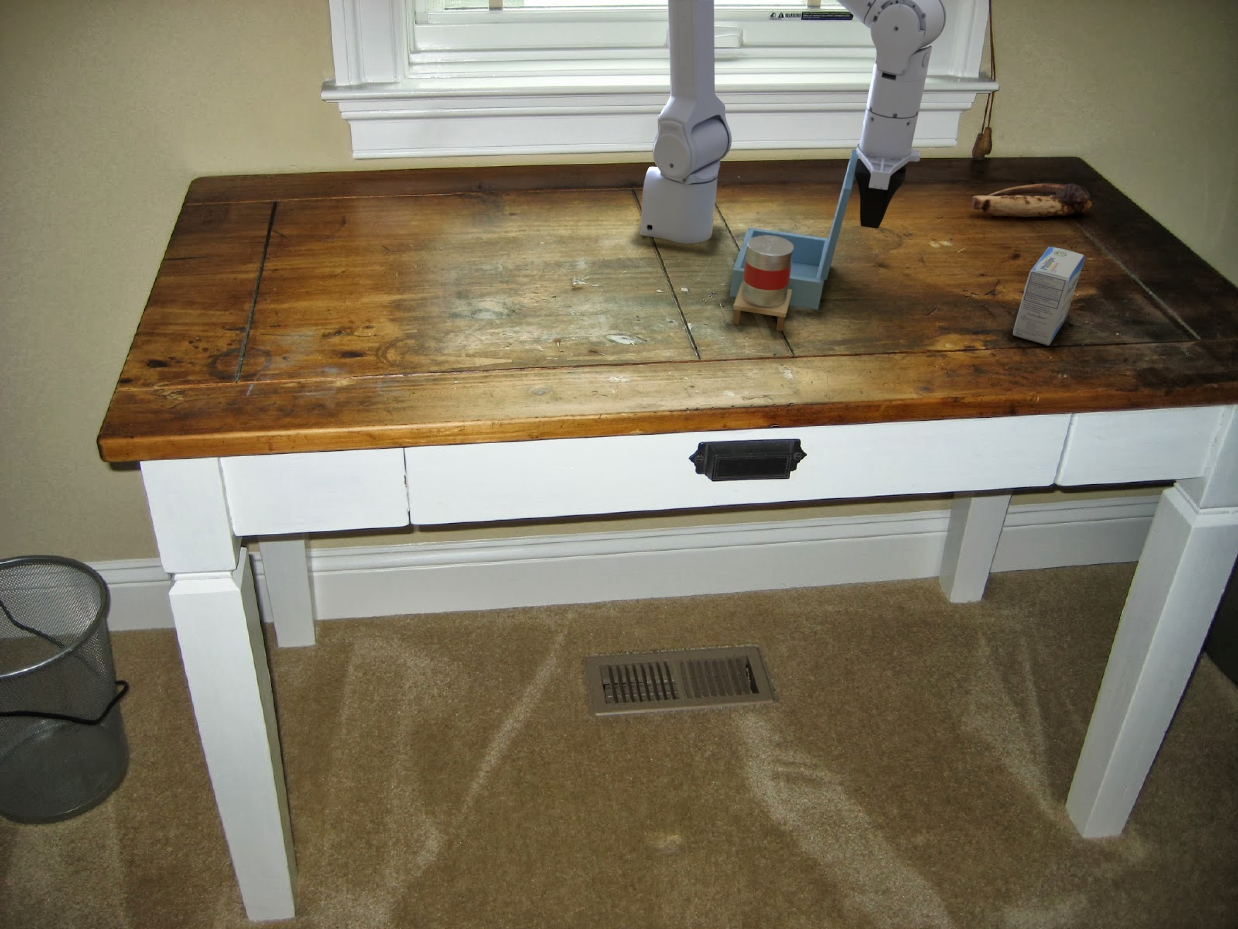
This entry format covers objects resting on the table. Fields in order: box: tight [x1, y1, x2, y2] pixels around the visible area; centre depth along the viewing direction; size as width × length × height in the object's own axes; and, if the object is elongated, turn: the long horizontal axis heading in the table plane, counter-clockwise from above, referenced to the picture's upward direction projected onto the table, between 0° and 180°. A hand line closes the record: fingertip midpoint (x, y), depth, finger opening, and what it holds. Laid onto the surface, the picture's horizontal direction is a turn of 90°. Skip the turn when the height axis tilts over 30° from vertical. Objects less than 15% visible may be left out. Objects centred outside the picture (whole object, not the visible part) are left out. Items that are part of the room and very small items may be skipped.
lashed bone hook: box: [971, 183, 1093, 218], centre depth 154 cm, size 9×5×18 cm
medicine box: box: [1012, 246, 1086, 347], centre depth 125 cm, size 8×4×9 cm, turn 148°
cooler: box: [729, 226, 829, 311], centre depth 132 cm, size 11×13×4 cm
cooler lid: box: [820, 148, 859, 281], centre depth 126 cm, size 11×13×1 cm
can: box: [741, 235, 794, 307], centre depth 122 cm, size 5×5×6 cm
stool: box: [732, 282, 792, 332], centre depth 125 cm, size 6×6×3 cm
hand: (869, 225), depth 126 cm, fingers closed
